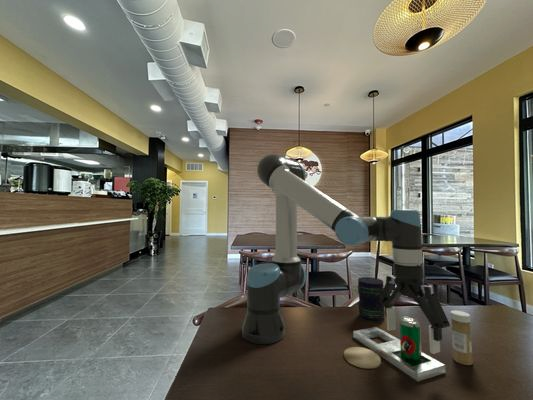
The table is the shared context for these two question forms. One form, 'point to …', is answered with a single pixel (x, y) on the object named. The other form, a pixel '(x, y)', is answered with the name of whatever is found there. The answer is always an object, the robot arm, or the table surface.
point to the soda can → (410, 341)
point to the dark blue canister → (370, 299)
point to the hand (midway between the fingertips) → (411, 340)
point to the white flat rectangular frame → (398, 354)
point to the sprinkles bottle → (461, 337)
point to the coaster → (362, 357)
